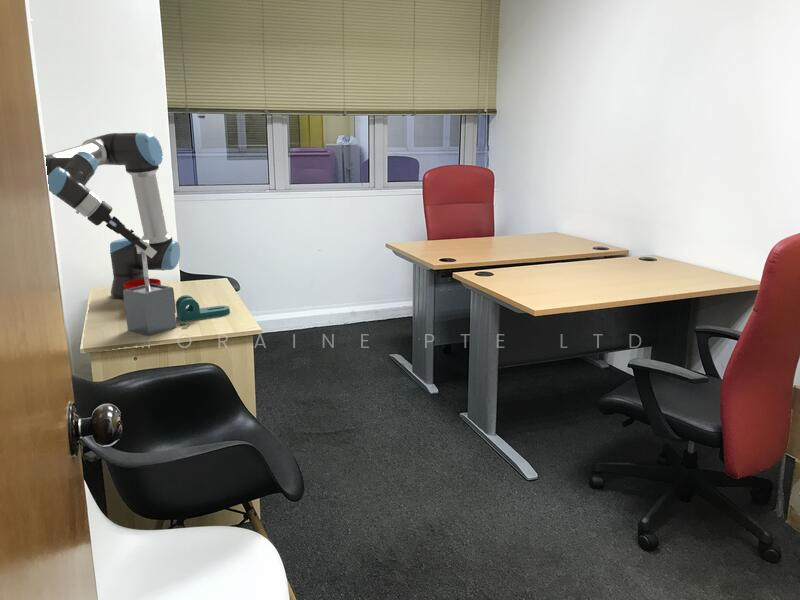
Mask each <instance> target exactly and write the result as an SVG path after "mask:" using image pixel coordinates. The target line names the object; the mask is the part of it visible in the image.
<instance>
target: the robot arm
mask: <svg viewBox="0 0 800 600" xmlns="http://www.w3.org/2000/svg"><path fill="white" fill-rule="evenodd" d="M44 156H45V157H46V166H47V175H48V184H49V190H48V191H49V192H51V194H52V195H54V196H56V197H57V198H58V199H60V200H61V201H62V202H64V203H65V204H67V205H68V206H69V207H71V208H72V209H74V210H76V211H75V213H76V214H77V215H79V214H80V215H82V216H83V217H85V218H86V217H87V220H88V221H89V222H91V223H92V224H94V226H100V225H101V224H102V223H103V222H105V226H106V227H107V228H108V229H109V230H111V231H114V232H115V233H116V234H119V235H121V236H122V237H123V238H121V239H116V240H113V241H111V243H110V244H109V254H110V259H111V266H112V267H111V268H112V274H113V275H112V276H113V280H112V284H111V289H110V296H111V298H112V299H114V300H115V299H116V300H124V296H123V290H124V283H125V282H128V281H131V280H136V279H144V271H143V262H142V254H137V248H138V249H140V250H141V251H142V252H144V253H145V254H146V257H147V266H148V271H173V270H174V269H175V268H176V267H177V266H178V264H179V261H180V257H181V247H180V243H179V242H178V241H177V240H173V236H172V233H170V232H168V231H167V227H166V226H167V225H166V220H165V215H164V211H163V204H162V199H161V195H160V190H159V184H158V179H157V175H156V174H157V171H158V170H159V168H160V167H159V165H161V164H162V162H163V156H164V155H163V149H162V146H161V143H160V141H159V139H158V138H157V137H156V136H155V135H153V134H152V133H149V132H148V133H145V132H122V133H121V132H120V133H119V132H112V133H106V134H103V135H99V136H96V137H92V138H90V139H86V140H84V141H83V142H82V143H81V144H80V145H76V146H72V147H70V148H66V149H63V150H58V151H55V152H53V153H49V154H47V155H45V154H44ZM103 165H105V166H124V167H125V171H126V173H127V174H128V175H130V176H131V179H132V185H133V189H134V194H135V199H136V204H137V208H138V213H139V218H140V223H141V226H142V227H141V228H142V232H143V236H142V237H141V238H140V236H138V235H136V233H134V232H135V231H134V229H133V228H131V229H129V228H127V227H126V225H125V224H124V223H122V222H121V221H120V219H119V218H117V217H116V216H115V215H114V216H111V213H112V212H113V207H112V206H111V205H110V204H108V203H107V202H106V201H105V200H102V198H101V197H100V196H99V195H97V194H96V193H95V192H93V191H92V190H91V189H89V188H88V187H87V186H86V185H87V184H88V182H89V181H90V180H91V178H92V177H93V176H94V174H95V172H96V171H97V169H98V167H99V166H103ZM142 240H149V245H148V244H146V243H145V242H144V241H142ZM136 247H137V248H136Z"/></svg>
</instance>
